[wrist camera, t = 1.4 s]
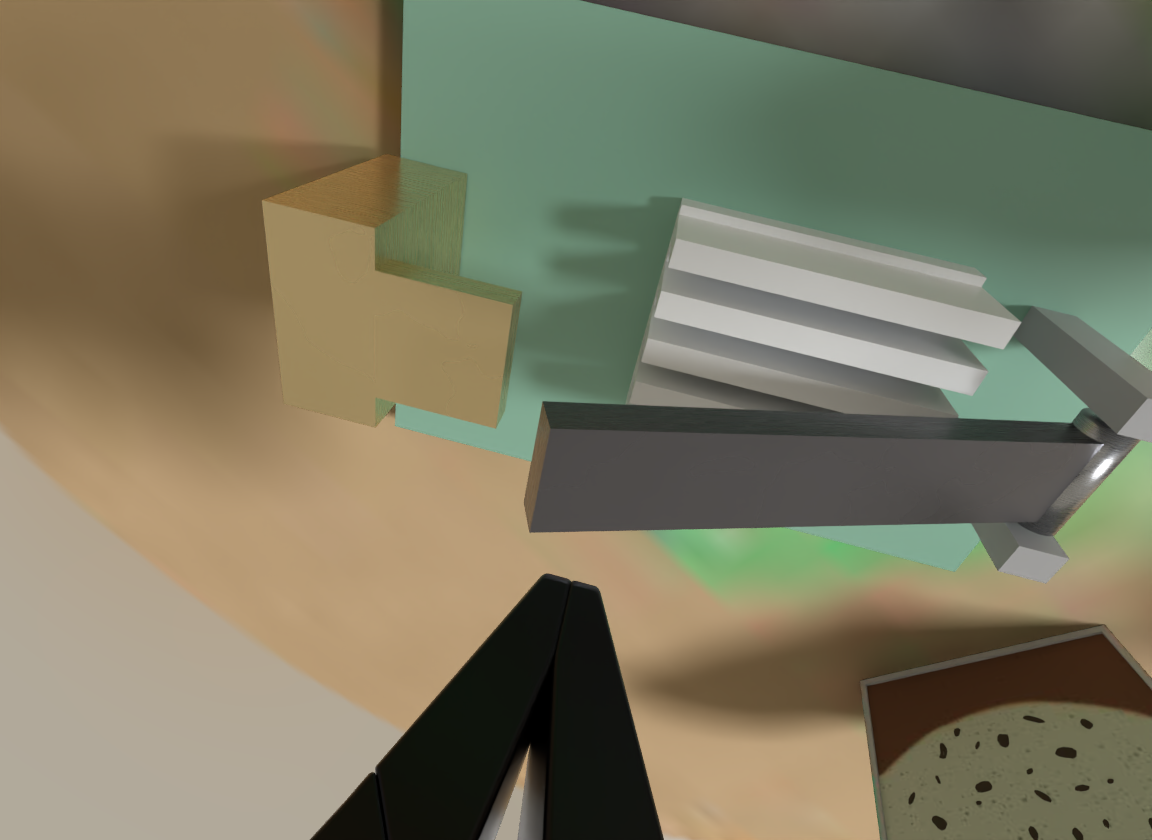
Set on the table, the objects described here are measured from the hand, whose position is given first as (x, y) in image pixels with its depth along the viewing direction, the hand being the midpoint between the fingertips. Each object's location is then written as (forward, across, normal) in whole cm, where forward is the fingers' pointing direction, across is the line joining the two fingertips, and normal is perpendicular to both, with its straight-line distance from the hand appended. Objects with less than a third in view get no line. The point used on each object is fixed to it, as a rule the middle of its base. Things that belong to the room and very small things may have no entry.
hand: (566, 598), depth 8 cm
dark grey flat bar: (+6, -5, 0) cm, 8 cm away
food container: (+13, -20, +14) cm, 27 cm away
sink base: (+12, -3, 0) cm, 13 cm away
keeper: (+11, +5, 0) cm, 13 cm away
